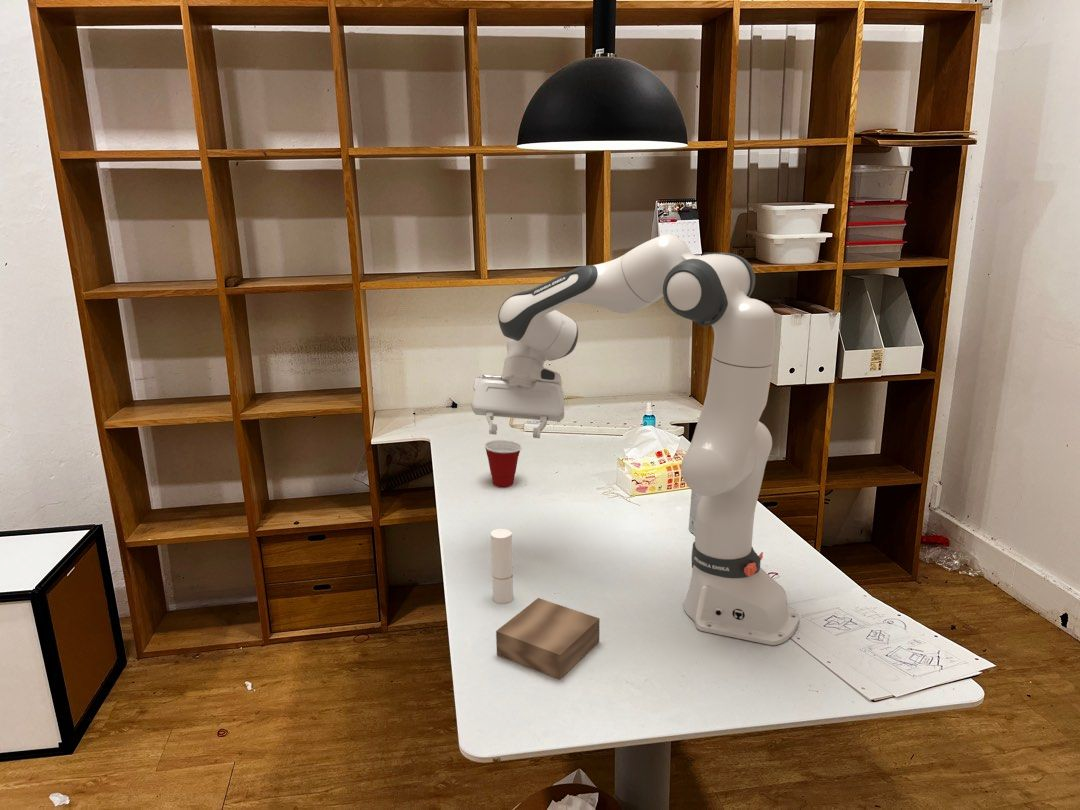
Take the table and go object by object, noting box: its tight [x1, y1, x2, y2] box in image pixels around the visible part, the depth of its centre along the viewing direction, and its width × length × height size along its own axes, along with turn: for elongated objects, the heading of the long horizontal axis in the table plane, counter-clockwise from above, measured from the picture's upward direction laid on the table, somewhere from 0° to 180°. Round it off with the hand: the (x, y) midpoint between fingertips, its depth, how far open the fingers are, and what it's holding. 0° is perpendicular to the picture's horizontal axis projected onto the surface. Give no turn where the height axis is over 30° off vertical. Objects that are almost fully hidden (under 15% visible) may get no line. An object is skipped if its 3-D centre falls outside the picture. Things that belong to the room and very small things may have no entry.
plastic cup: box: [483, 439, 523, 489], centre depth 228 cm, size 11×11×12 cm
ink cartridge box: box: [688, 490, 702, 536], centre depth 194 cm, size 10×6×14 cm, turn 15°
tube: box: [490, 528, 514, 604], centre depth 167 cm, size 4×4×15 cm
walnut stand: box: [495, 597, 601, 680], centre depth 151 cm, size 14×14×5 cm
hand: (514, 435), depth 171 cm, fingers open, 8 cm apart
